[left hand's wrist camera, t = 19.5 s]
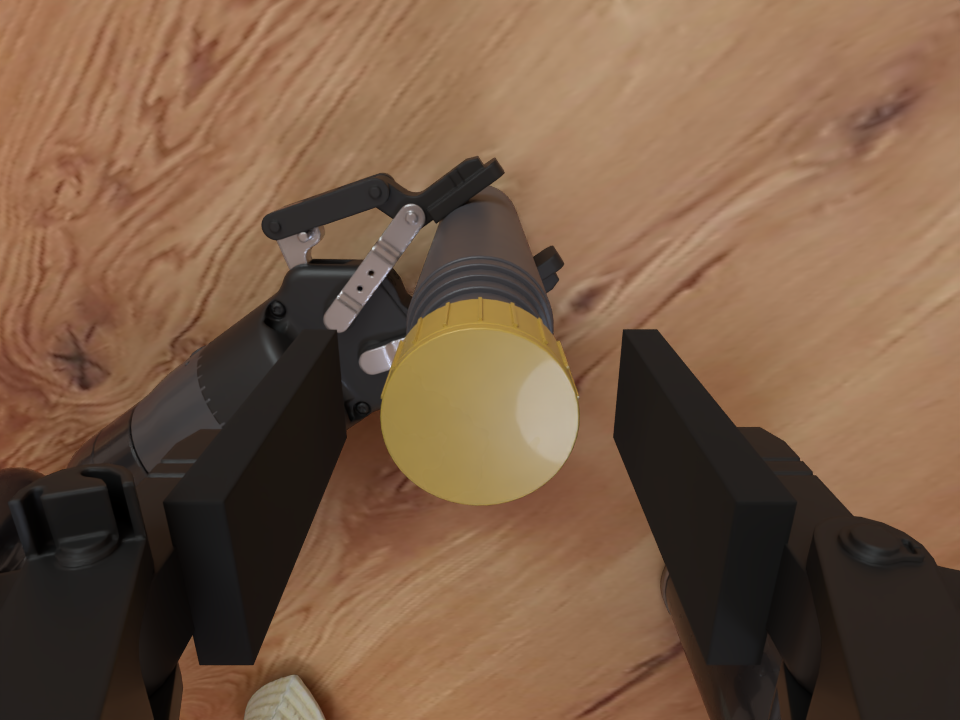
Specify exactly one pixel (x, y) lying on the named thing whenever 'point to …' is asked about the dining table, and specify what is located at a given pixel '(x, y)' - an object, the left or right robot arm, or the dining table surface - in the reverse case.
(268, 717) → the seashell
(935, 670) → the left robot arm
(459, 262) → the bottle
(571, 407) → the cap
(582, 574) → the dining table surface
